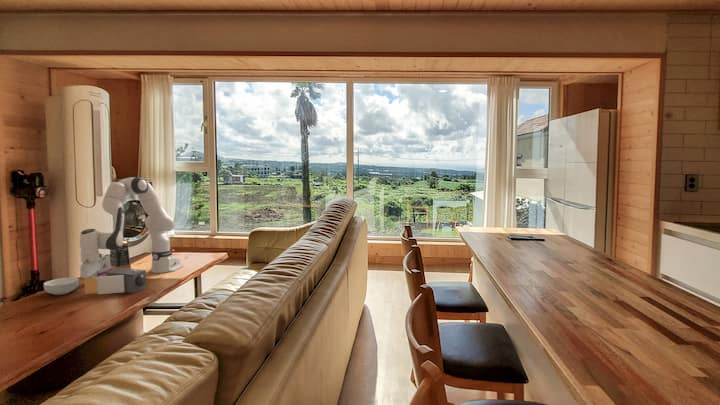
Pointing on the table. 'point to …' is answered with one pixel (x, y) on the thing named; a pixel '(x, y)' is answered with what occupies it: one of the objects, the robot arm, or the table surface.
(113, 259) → the whiskey bottle
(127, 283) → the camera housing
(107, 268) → the candy bar box
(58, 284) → the cereal bowl
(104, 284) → the side door
